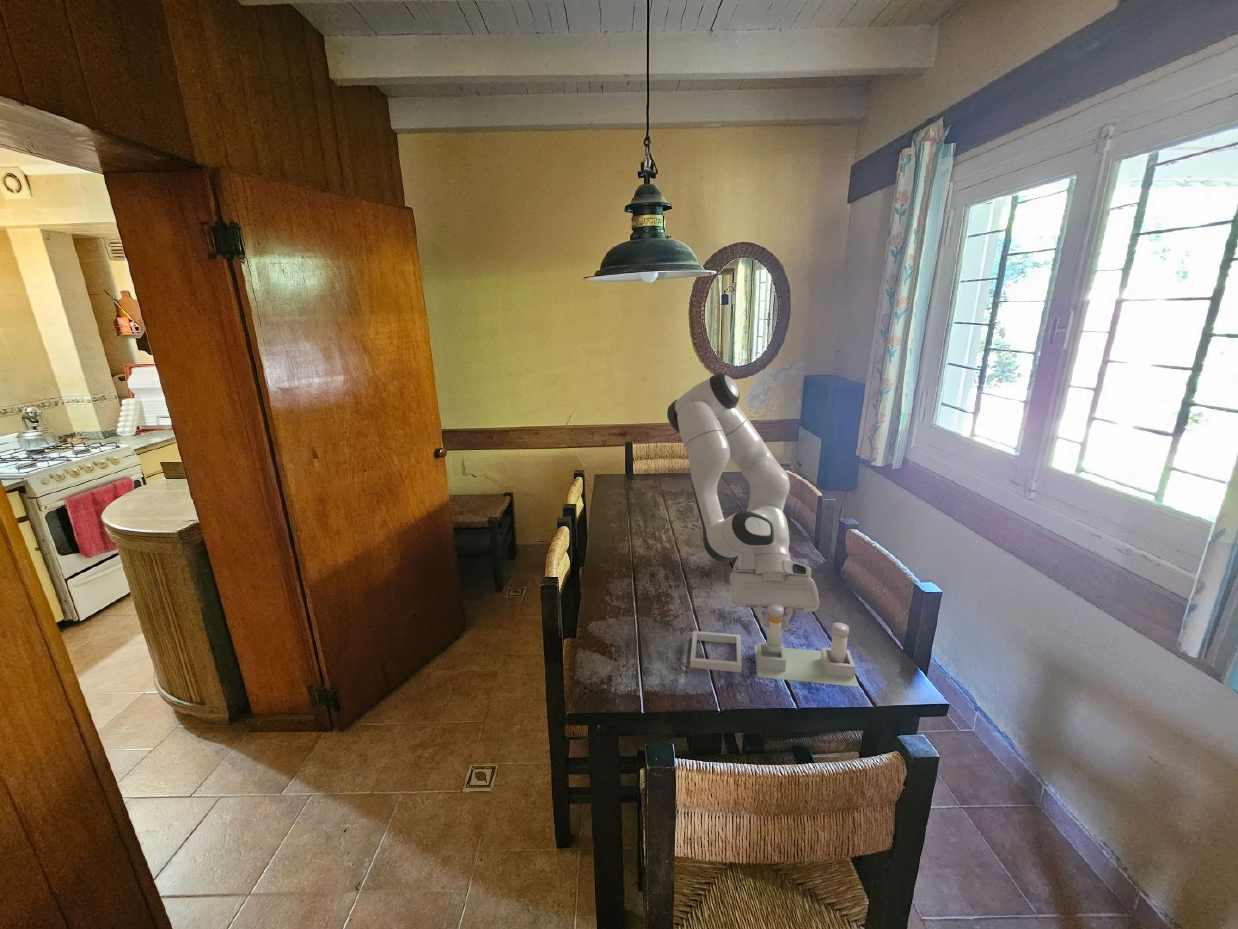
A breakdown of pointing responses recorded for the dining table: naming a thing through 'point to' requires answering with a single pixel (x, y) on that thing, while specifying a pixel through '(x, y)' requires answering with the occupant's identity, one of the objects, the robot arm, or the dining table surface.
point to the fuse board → (804, 666)
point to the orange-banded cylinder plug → (774, 627)
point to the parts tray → (716, 663)
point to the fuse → (839, 642)
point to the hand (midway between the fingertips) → (775, 627)
